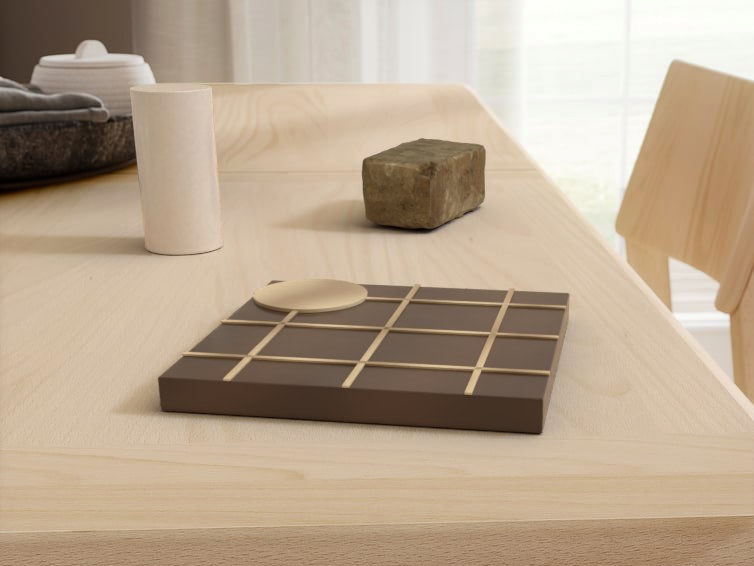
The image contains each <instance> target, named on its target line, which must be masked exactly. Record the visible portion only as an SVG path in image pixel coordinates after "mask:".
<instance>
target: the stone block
mask: <svg viewBox="0 0 754 566" xmlns="http://www.w3.org/2000/svg"><path fill="white" fill-rule="evenodd" d="M486 154H487V150H486V148H485V146H484V145H482V144H478V143H473V142H472V143H471V142H459V141H451V140H444V139H435V138H424V137H421V138H418V139H415V140H410V141H406V142H405V141H404V142H401V143H400V144H398V145H396V146H395V147H391V148H388V149H385V150H382V151H380V152H378V153H375V154H373V155H370V156H367V157H365V158H363V159H362V163H361V164H362V165H361V179H362V196H363V204H364V210H365V212H364V213H365V218H366V220H368V221H370V222H371V223H372V222H373V223H374V224H377V225H382V226H389V227H390V226H391V227H397V228H398V227H399V228H404V229H408V230H409V229H411V230H412V229H428V230H433V229H436V228H438V227H440V226H442V225H444V224H446V223H448V222H450V221H453V220H455V219H458V218H461V217H463V216H464V214H466V213H468V212H470V211H475V210H476V209H477V207H479V206H481V205H482V204H483V203H484V201H485V198H486V176H485V175H486V174H485V172H486V171H485V169H486V159H487V158H486Z"/></svg>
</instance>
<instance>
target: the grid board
mask: <svg viewBox="0 0 754 566" xmlns="http://www.w3.org/2000/svg"><path fill="white" fill-rule="evenodd" d="M421 285H422V284H421V283H420V284H419V283H414V285H412V286H411V285H391V284H365V283H355V282H351V281H348V280H347V281H346V280H339V279H328V278H303V279H292V280H277V279H276V280H274V279H273V280H271V281H269V282H268V283H267V284H266V285H264V286H262V287H260V288H259V289H257V290H255V292H253V295H252V297H251V298H249V300H247V301H246V302H245V303H244V304H243V305H242V306H240V307H239V308H238V309H237V310H236V311H234V312H233V313H232V314H231V315H230V316H228V317H227V318H225V319H221V320H220V324H219V325H218V326H217V327H215V328H214V329H213V330H212V331H211V332H209V333H208V334H207V335H206V336H205V337H203V338H202V340H200V341H199V342H198V343H197V344H196V345H194V346H193V347H192V348H190V349H189V350H188V351H184V352H182V353H181V356H182V357H180V358H179V359H178V360H177V361H175V362H174V363H173V364H172V365H171V366H170V367H168V368H167V369H166V370H165V371H164V372H163V373H161V374H160V375H159V376H158V377H157V383H158V392H159V403H160V405H159V406H160V410H161V411H164V412H165V411H166V412H167V411H168V412H181V413H197V414H214V415H230V416H244V417H245V416H246V417H261V418H263V417H265V418H278V419H280V418H281V419H298V420H313V421H329V422H345V423H346V422H347V423H360V424H361V423H363V424H376V425H377V424H379V425H380V424H381V425H393V426H395V425H396V426H411V427H412V426H413V427H429V428H443V429H445V428H446V429H463V430H477V431H479V430H480V431H495V432H509V433H510V432H512V433H527V434H542V433H543V431H544V428H545V427H544V426H545V422H546V419H547V414H548V410H549V405H550V401H551V397H552V392H553V389H554V385H555V380H556V376H557V370H558V367H559V362H560V359H561V355H562V349H563V346H564V340H565V336H566V332H567V328H568V324H569V319H570V318H569V317H570V293H569V292H556V291H555V292H553V291H533V290H532V291H529V290H528V291H527V290H516V288H513V287H509V288H508V290H507V289H484V288H483V289H481V288H460V287H439V286H438V287H435V286H421Z"/></svg>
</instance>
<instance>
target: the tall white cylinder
mask: <svg viewBox="0 0 754 566" xmlns="http://www.w3.org/2000/svg"><path fill="white" fill-rule="evenodd" d="M129 99H130V109H131V118H132V129H133V137H134V146H135V158H136V168H137V169H136V170H137V177H138V178H137V179H138V186H139V187H138V188H139V198H140V207H141V208H140V209H141V216H142V217H141V218H142V226H143V227H142V228H143V236H144V246H145V249H146V250H147V251H148V252H151V253H154V254H160V255H167V256H168V255H169V256H171V255H172V256H181V255H183V256H186V255H196V254H203V253H208V252H209V253H210V252H213V251H216V250H218V249H221V248H222V247H223V246H224V236H223V234H224V233H223V223H222V222H223V221H222V220H223V219H222V208H221V195H220V181H219V166H218V155H217V142H216V129H215V128H216V127H215V115H214V102H213V88H212V86H211V85H208V84H204V83H203V84H202V83H172V82H171V83H152V84H141V85H135V86H131V87H129Z"/></svg>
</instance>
